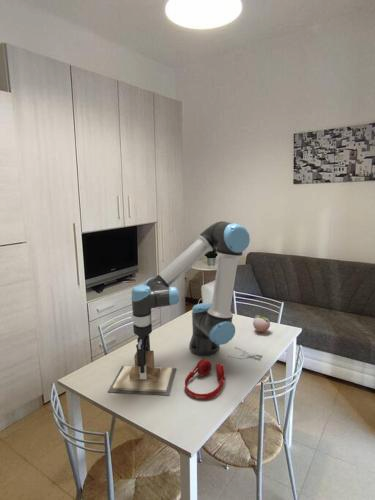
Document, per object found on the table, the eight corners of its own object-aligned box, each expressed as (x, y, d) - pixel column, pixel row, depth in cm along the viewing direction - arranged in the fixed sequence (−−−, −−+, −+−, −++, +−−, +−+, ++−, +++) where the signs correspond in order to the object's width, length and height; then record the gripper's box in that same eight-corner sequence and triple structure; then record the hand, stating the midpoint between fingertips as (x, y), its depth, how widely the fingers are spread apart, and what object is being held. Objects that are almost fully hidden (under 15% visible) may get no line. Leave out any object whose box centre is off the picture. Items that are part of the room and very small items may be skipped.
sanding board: (176, 368, 148) (176, 365, 148) (169, 395, 129) (169, 392, 129) (122, 366, 151) (122, 363, 150) (107, 392, 132) (107, 389, 132)
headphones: (200, 367, 148) (179, 398, 132) (199, 354, 146) (177, 384, 129) (231, 375, 141) (213, 409, 125) (230, 361, 139) (212, 394, 122)
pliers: (235, 345, 166) (264, 351, 159) (235, 347, 166) (264, 354, 159) (227, 354, 157) (258, 361, 150) (227, 357, 158) (258, 364, 150)
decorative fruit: (250, 333, 181) (250, 316, 179) (255, 327, 187) (255, 311, 185) (266, 337, 176) (267, 319, 174) (271, 331, 183) (272, 314, 181)
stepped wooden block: (160, 374, 141) (159, 350, 139) (158, 381, 136) (157, 356, 134) (133, 373, 143) (131, 349, 140) (129, 379, 138) (128, 355, 136)
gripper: (139, 314, 144) (141, 362, 149) (127, 333, 126) (130, 387, 131) (155, 314, 143) (157, 363, 148) (146, 333, 125) (149, 388, 130)
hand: (145, 374), depth 139 cm, fingers closed on stepped wooden block, 5 cm apart
